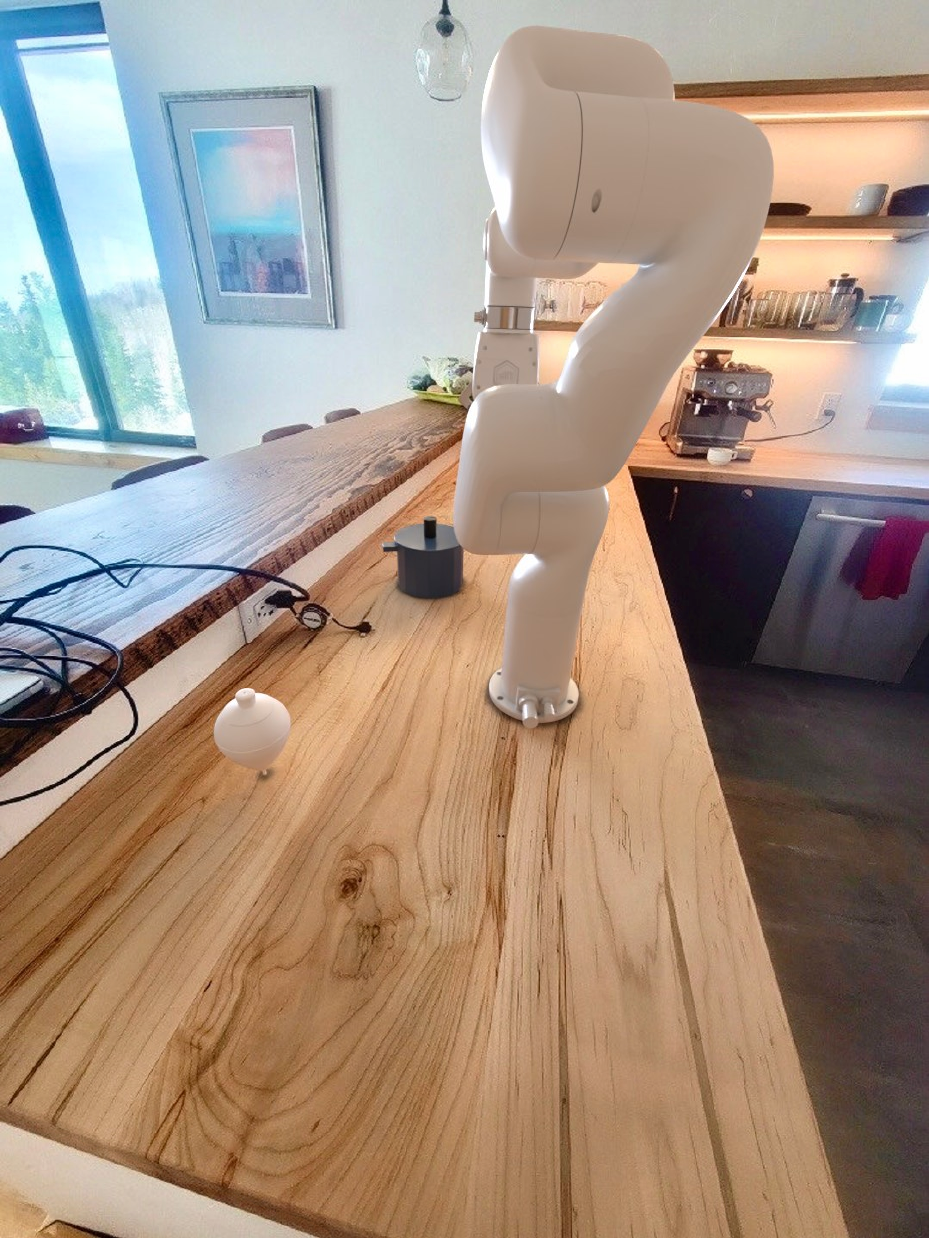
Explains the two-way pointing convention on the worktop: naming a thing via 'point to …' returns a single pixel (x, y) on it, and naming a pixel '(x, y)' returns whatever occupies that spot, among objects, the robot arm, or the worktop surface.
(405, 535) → the pot lid
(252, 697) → the spinning top
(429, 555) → the pot
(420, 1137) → the worktop surface
